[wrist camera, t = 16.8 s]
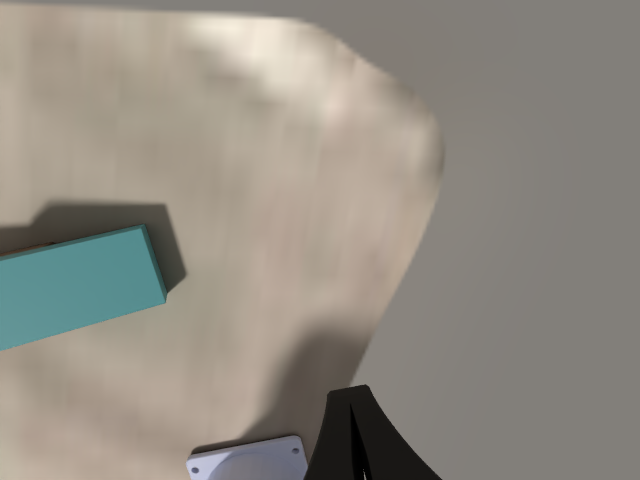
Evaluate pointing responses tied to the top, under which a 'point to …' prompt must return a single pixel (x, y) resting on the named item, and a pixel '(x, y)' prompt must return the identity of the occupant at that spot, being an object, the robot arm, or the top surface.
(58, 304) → the teal rectangular block
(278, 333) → the top surface
